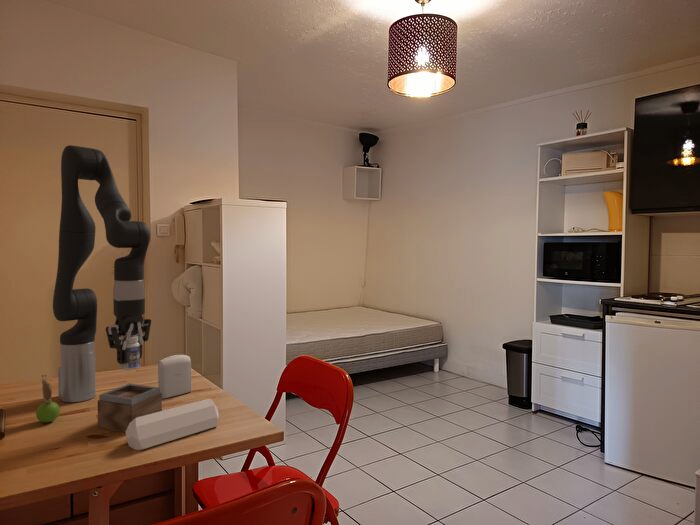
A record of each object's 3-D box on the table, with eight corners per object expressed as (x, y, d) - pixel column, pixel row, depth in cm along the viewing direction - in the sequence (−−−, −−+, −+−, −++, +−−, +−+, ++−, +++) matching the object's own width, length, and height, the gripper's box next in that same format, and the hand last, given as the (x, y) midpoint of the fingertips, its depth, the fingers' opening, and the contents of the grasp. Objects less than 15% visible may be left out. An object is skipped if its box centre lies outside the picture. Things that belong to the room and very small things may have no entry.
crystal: (206, 403, 135) (116, 427, 117) (218, 395, 130) (127, 419, 113) (213, 429, 132) (123, 458, 115) (226, 422, 128) (134, 451, 111)
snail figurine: (56, 415, 134) (55, 372, 133) (62, 422, 129) (61, 377, 128) (33, 420, 130) (32, 376, 129) (38, 427, 125) (37, 381, 125)
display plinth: (97, 427, 126) (97, 395, 126) (129, 412, 136) (129, 383, 136) (132, 433, 123) (131, 400, 122) (161, 418, 133) (161, 387, 132)
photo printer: (162, 400, 147) (162, 359, 147) (156, 396, 150) (155, 357, 150) (193, 392, 155) (193, 354, 154) (186, 389, 158) (186, 351, 157)
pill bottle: (132, 370, 126) (132, 338, 125) (116, 369, 127) (115, 337, 126) (143, 365, 131) (143, 335, 130) (128, 364, 132) (127, 334, 131)
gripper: (137, 293, 136) (138, 353, 137) (95, 299, 122) (96, 366, 123) (159, 294, 133) (160, 356, 134) (119, 301, 120) (120, 369, 121)
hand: (129, 360), depth 129 cm, fingers closed on pill bottle, 4 cm apart
